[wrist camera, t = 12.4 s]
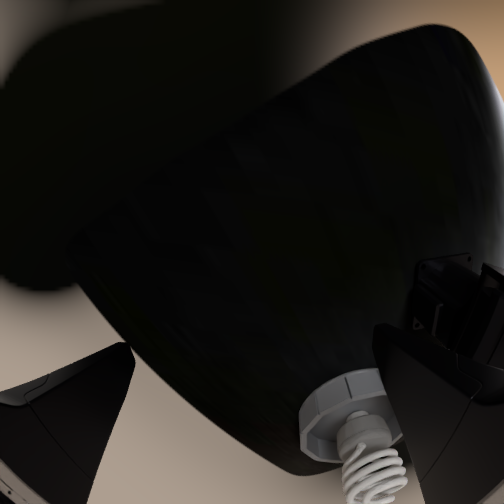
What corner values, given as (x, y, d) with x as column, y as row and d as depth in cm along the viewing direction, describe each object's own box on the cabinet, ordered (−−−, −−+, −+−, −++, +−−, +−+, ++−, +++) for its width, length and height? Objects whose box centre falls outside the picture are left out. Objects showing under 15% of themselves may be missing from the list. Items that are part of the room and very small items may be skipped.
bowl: (414, 356, 22) (428, 377, 19) (393, 428, 25) (401, 448, 22) (296, 378, 23) (299, 404, 20) (299, 446, 26) (300, 468, 23)
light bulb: (388, 408, 23) (421, 493, 12) (347, 434, 25) (365, 519, 13) (365, 386, 23) (399, 486, 11) (319, 415, 24) (333, 514, 12)
